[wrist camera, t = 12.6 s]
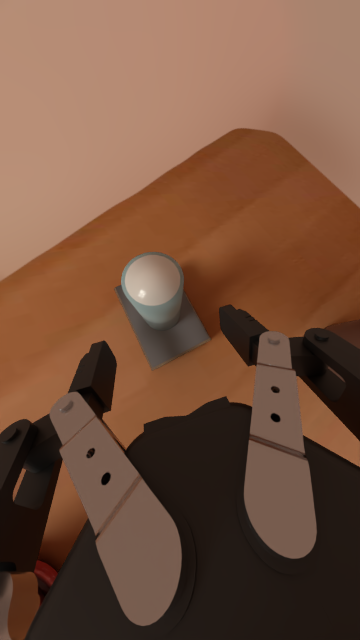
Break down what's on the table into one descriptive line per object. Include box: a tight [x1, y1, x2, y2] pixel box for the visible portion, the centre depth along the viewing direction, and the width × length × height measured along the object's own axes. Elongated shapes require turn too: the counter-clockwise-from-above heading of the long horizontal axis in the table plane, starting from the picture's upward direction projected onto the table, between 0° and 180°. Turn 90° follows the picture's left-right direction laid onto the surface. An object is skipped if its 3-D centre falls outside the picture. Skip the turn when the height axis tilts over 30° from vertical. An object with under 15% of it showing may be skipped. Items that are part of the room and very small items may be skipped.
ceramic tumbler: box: [121, 252, 184, 331], centre depth 18 cm, size 5×5×10 cm
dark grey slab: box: [114, 285, 211, 371], centre depth 25 cm, size 9×13×4 cm
